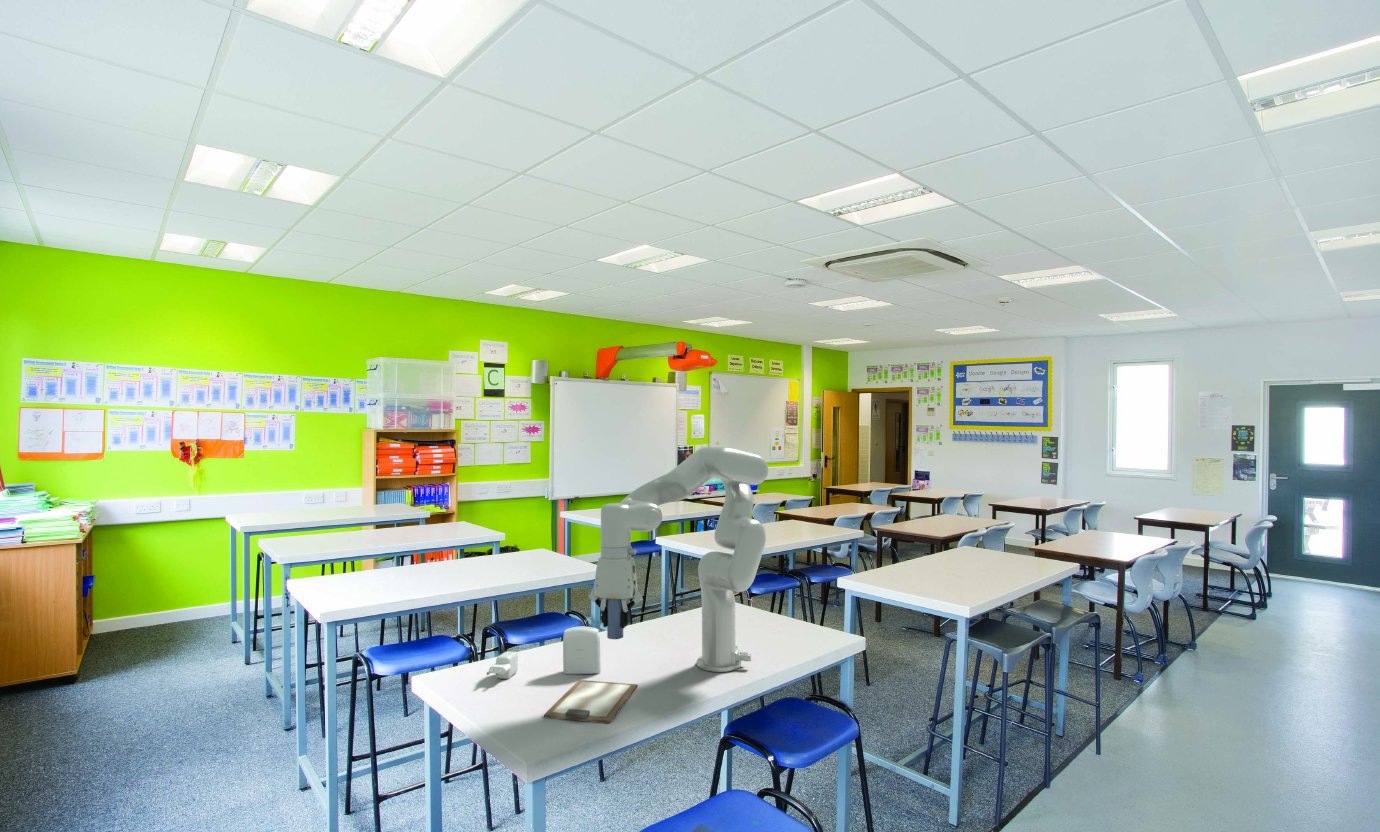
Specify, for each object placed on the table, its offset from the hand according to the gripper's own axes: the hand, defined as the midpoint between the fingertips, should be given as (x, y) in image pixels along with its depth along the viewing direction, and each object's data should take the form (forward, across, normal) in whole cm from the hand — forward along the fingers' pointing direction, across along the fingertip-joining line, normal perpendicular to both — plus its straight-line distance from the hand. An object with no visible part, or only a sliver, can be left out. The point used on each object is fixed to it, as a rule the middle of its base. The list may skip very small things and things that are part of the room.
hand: (615, 625), depth 164 cm
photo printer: (+17, +14, -13) cm, 26 cm away
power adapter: (+18, +33, -4) cm, 38 cm away
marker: (+3, 0, 0) cm, 3 cm away
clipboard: (+17, +4, +5) cm, 18 cm away
